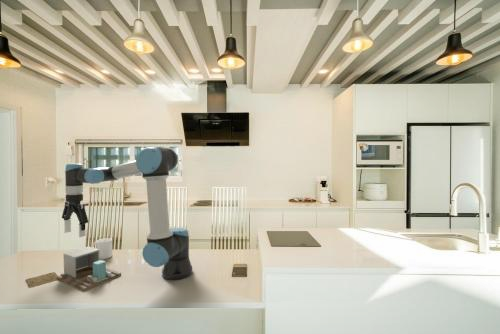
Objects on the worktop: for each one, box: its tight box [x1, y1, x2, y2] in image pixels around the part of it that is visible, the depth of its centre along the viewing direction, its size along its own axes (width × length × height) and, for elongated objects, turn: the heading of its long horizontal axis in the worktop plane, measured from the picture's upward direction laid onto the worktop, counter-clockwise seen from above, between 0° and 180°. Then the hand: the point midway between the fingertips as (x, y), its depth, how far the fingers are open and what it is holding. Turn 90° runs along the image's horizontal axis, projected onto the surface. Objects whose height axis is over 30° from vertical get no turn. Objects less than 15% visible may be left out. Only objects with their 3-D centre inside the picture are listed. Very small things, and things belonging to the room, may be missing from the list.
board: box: [57, 266, 122, 292], centre depth 133 cm, size 24×18×3 cm
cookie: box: [25, 272, 60, 289], centre depth 130 cm, size 12×12×1 cm
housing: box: [63, 245, 101, 278], centre depth 136 cm, size 10×12×10 cm
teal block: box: [93, 259, 107, 281], centre depth 129 cm, size 4×4×8 cm
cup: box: [91, 237, 113, 260], centre depth 160 cm, size 8×12×10 cm
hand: (74, 234), depth 138 cm, fingers open, 13 cm apart
